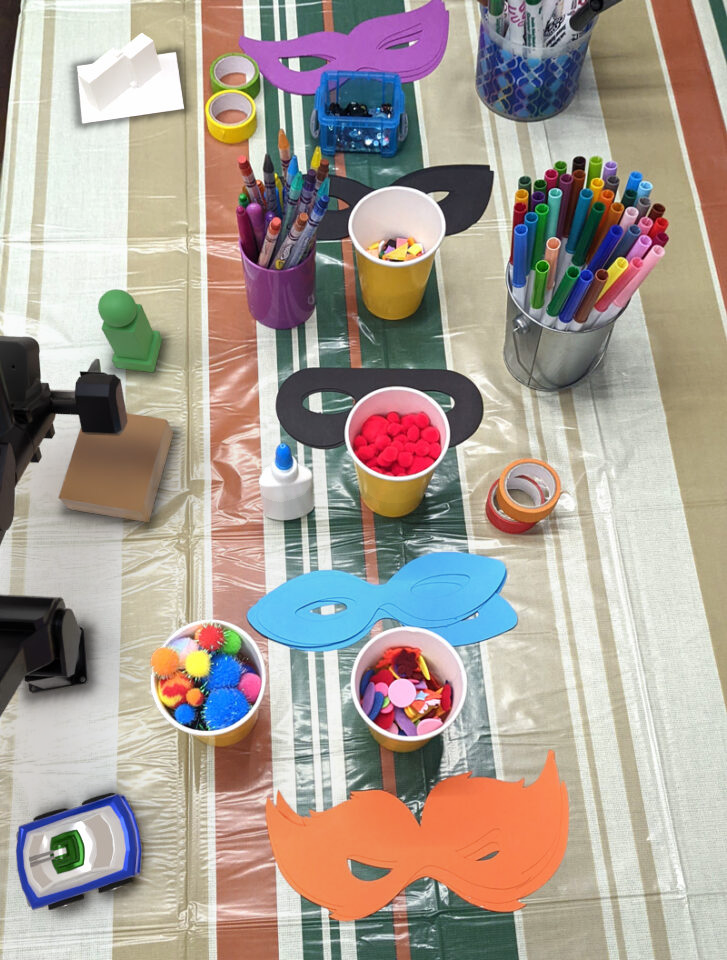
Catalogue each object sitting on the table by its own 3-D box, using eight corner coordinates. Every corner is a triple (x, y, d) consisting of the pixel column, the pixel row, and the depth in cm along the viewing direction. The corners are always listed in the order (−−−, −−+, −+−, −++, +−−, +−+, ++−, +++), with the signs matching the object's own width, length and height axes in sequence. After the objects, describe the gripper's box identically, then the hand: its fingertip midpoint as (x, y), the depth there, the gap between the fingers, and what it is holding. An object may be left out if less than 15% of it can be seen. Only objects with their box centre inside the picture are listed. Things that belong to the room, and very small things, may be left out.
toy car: (24, 823, 94) (-12, 823, 86) (134, 786, 96) (110, 783, 87) (39, 915, 91) (4, 925, 82) (153, 876, 92) (130, 882, 84)
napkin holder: (82, 124, 128) (70, 94, 123) (76, 66, 132) (63, 34, 127) (185, 108, 129) (177, 77, 124) (175, 51, 134) (167, 18, 128)
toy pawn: (153, 372, 114) (128, 319, 102) (115, 368, 114) (86, 314, 102) (162, 338, 116) (138, 282, 103) (124, 334, 116) (96, 277, 104)
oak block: (149, 522, 106) (141, 511, 103) (68, 509, 107) (58, 498, 103) (173, 432, 111) (166, 419, 107) (96, 420, 111) (87, 406, 108)
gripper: (87, 374, 78) (131, 295, 91) (-121, 365, 79) (-49, 288, 91) (106, 474, 85) (145, 388, 98) (-85, 465, 86) (-23, 381, 98)
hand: (56, 360), depth 96 cm, fingers open, 9 cm apart
